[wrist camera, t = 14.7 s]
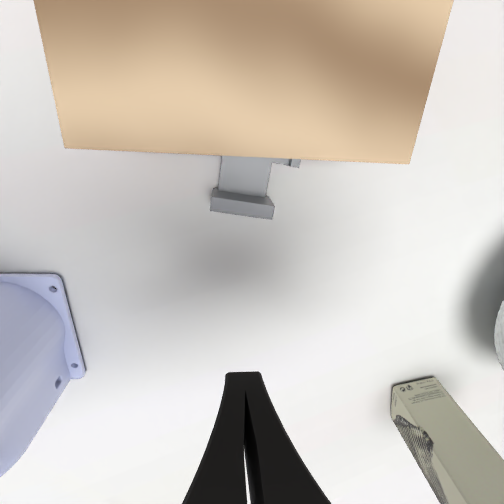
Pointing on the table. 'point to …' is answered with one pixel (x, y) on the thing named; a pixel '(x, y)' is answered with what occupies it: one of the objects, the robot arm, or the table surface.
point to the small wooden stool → (244, 75)
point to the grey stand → (246, 186)
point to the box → (447, 445)
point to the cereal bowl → (500, 335)
